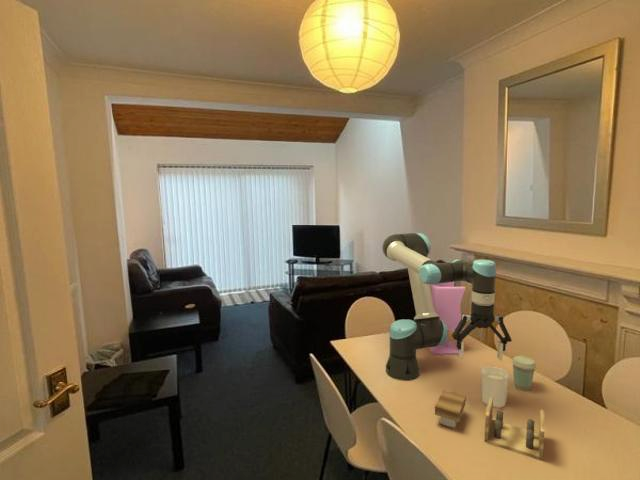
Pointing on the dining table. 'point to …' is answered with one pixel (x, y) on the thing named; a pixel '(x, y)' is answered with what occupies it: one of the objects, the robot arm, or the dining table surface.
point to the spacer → (448, 422)
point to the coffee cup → (523, 372)
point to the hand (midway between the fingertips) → (480, 358)
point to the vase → (447, 312)
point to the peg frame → (514, 434)
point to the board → (450, 405)
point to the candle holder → (494, 385)
